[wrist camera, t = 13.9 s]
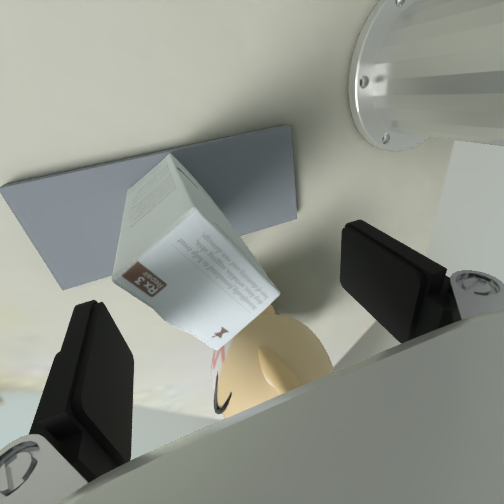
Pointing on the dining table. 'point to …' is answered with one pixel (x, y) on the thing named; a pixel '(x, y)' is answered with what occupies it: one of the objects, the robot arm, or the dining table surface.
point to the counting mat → (131, 171)
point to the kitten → (266, 362)
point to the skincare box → (188, 258)
